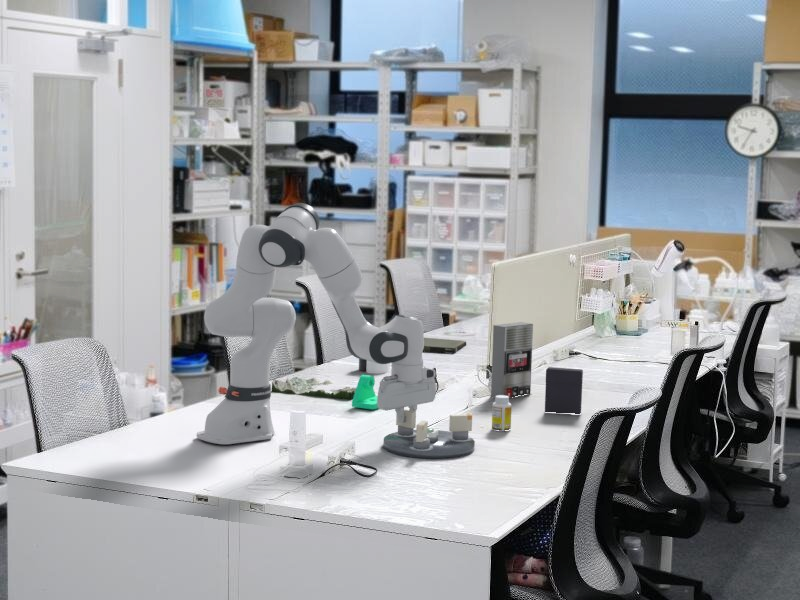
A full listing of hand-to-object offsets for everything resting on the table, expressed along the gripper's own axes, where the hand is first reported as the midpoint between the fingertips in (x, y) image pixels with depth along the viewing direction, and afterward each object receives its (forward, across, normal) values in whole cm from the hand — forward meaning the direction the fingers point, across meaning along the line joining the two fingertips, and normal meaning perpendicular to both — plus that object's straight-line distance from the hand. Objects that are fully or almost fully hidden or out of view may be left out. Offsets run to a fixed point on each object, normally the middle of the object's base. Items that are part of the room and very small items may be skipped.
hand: (405, 421), depth 329 cm
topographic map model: (+7, +36, +69) cm, 78 cm away
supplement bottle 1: (+6, +63, +80) cm, 102 cm away
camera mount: (+6, +24, +38) cm, 45 cm away
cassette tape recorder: (+6, +69, +18) cm, 72 cm away
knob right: (+3, +8, -14) cm, 16 cm away
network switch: (+6, +116, +96) cm, 151 cm away
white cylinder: (+5, +64, +77) cm, 101 cm away
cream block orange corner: (+3, 0, 0) cm, 3 cm away
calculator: (+6, +61, -9) cm, 62 cm away
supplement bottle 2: (+6, +31, -9) cm, 33 cm away
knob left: (+3, -8, -14) cm, 16 cm away
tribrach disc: (+6, 0, -9) cm, 11 cm away
